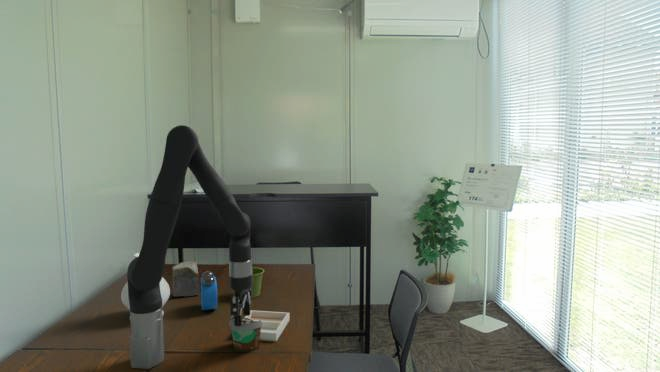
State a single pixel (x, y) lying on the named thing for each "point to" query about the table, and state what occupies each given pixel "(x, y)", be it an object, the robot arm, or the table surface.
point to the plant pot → (256, 281)
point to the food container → (246, 334)
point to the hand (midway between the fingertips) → (242, 320)
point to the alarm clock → (208, 291)
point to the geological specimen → (185, 279)
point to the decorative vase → (163, 289)
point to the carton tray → (270, 323)
